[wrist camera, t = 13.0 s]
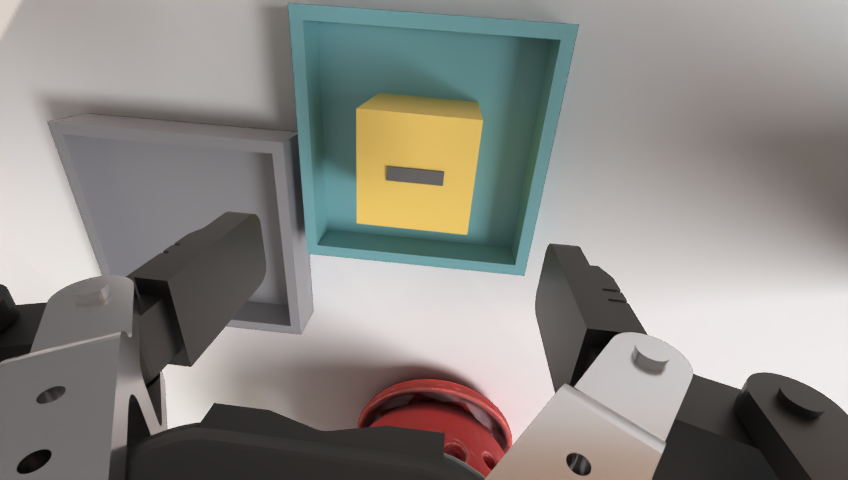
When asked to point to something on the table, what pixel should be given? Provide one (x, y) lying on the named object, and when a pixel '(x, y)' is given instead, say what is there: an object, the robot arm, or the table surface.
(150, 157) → the tray
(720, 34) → the table surface
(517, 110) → the tray
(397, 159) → the marked block
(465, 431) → the plant pot
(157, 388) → the robot arm
